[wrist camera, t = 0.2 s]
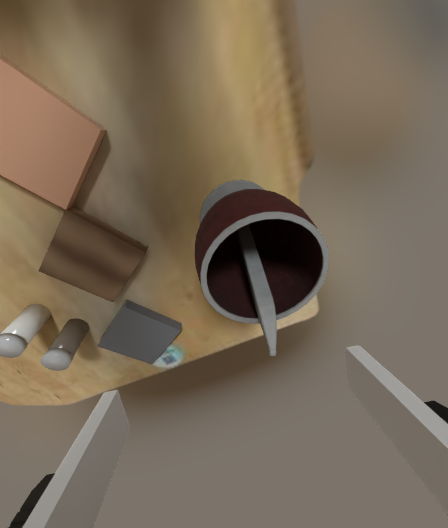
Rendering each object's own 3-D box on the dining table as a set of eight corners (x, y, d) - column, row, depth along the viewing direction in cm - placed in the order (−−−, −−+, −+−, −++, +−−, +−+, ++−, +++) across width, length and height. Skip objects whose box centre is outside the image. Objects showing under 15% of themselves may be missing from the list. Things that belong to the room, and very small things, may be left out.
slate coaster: (126, 299, 42) (123, 306, 40) (181, 323, 47) (181, 330, 45) (100, 338, 46) (97, 346, 45) (153, 356, 51) (152, 364, 49)
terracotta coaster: (-4, 51, 24) (-20, 45, 22) (106, 130, 29) (100, 129, 27) (-28, 151, 28) (-42, 152, 26) (72, 205, 33) (65, 209, 31)
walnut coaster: (72, 205, 33) (65, 209, 31) (147, 247, 37) (145, 252, 36) (45, 264, 37) (38, 271, 35) (116, 295, 41) (113, 302, 40)
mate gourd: (187, 180, 33) (179, 231, 16) (279, 168, 33) (369, 204, 16) (203, 268, 41) (209, 367, 23) (277, 258, 41) (336, 346, 24)
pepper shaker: (70, 315, 42) (45, 351, 35) (92, 323, 44) (73, 359, 37) (62, 328, 44) (37, 365, 37) (84, 336, 46) (64, 373, 39)
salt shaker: (29, 300, 40) (-7, 335, 33) (54, 309, 41) (25, 345, 34) (22, 315, 41) (-13, 352, 34) (47, 323, 43) (18, 360, 36)
